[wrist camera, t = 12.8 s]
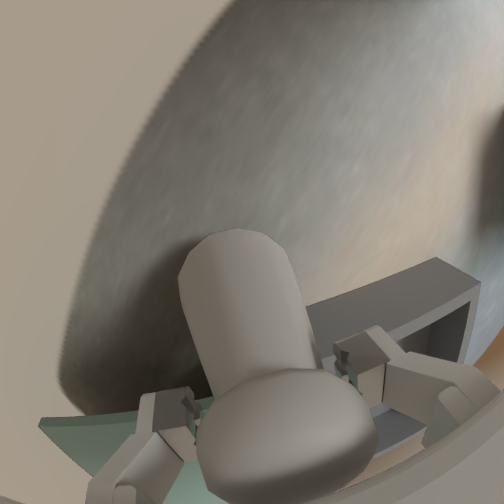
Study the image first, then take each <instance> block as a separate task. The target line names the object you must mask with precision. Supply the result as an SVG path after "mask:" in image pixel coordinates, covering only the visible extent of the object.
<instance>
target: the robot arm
mask: <svg viewBox="0 0 504 504" xmlns="http://www.w3.org/2000/svg"><path fill="white" fill-rule="evenodd" d="M333 353H334V355H335V356H336V358H337V359H336V361H335V362H334V366H335V372H336V375H337V376H338V377H340V378H342V379H343V380H345V381H347V382H348V383H350V384H352V385H353V386H354V387H355V388H356V389H357V391H358V392H359V393H360V395H361V396H362V397H363V399H364V400H365V401H366V403H367V405H368V408H372V407H374V406H376V405H378V404H381V403H382V404H384V405H386V406H388V407H390V408H392V409H394V410H396V411H398V412H400V413H403V414H405V415H407V416H409V417H411V418H413V419H416V420H418V421H420V422H422V423H425V424H427V425H428V426H427V429H426V432H425V434H424V437H423V439H422V442H421V443H422V444H423V446H424V447H425V449H424V450H422V451H420V452H419V453H418V454H415V455H413V456H412V457H410V458H408V459H406V460H405V461H403V462H401V463H399V464H397V465H395V466H393V467H391V468H389V469H388V470H385V471H384V472H381V473H379V474H377V475H375V476H373V477H371V478H369V479H366V480H364V481H362V482H360V483H357V484H355V485H352V486H350V487H347V488H345V489H342V490H340V491H338V492H334V493H332V494H329V495H326V496H323V497H320V498H317V499H314V500H311V501H308V502H305V503H301V504H504V389H503V390H502V391H500V390H499V389H498V388H497V387H496V386H495V385H494V384H493V383H492V382H491V381H490V380H489V379H488V378H487V377H486V376H485V375H484V374H483V373H481V372H480V371H479V370H478V369H477V368H476V367H473V366H469V365H464V364H460V363H456V362H451V361H447V360H443V359H439V358H434V357H430V356H426V355H422V354H418V353H414V352H411V351H410V352H408V353H405V352H404V351H403V350H402V349H401V347H400V346H399V345H398V344H397V343H396V342H395V341H394V340H393V339H392V338H391V337H390V336H389V335H388V334H387V333H386V332H385V331H384V330H383V329H382V328H381V327H380V326H378V325H375V326H373V327H371V328H368V329H366V330H364V331H362V332H359V333H357V334H354V335H352V336H350V337H347V338H345V339H342V340H340V341H337V342H334V343H333ZM204 415H205V414H204V411H203V409H202V407H201V405H200V403H198V402H196V401H194V393H193V391H192V390H191V388H190V387H188V386H186V387H180V388H175V389H169V390H163V391H158V392H153V393H146V394H143V395H142V396H141V398H140V404H139V411H138V417H137V424H136V431H135V434H131V435H130V436H129V437H128V438H127V440H126V441H125V442H124V443H123V444H122V445H121V446H120V448H119V449H118V450H117V451H116V452H115V453H114V454H113V456H112V457H111V458H110V459H109V460H108V461H107V462H106V464H105V465H104V466H103V467H102V468H101V469H100V470H99V472H98V473H97V474H96V475H95V476H94V477H93V478H92V480H91V481H90V482H89V483H88V488H87V494H86V501H85V504H162V503H163V502H164V500H165V498H166V496H167V495H168V493H169V491H170V489H171V487H172V486H173V484H174V482H175V480H176V478H177V477H178V475H179V473H180V471H181V469H182V467H183V466H184V463H183V462H190V461H195V460H198V457H197V454H196V433H197V428H198V426H199V424H200V422H201V420H202V418H203V417H204ZM0 504H24V503H21V502H17V501H15V500H12V499H9V498H6V497H4V496H1V495H0Z"/></svg>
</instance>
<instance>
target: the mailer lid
mask: <svg viewBox="0 0 504 504" xmlns="http://www.w3.org/2000/svg"><path fill="white" fill-rule="evenodd" d="M214 400H215V399H214V397H213V396H212V397H208V398H203V399H199V400H194V401H196V402H198V403H200V405H201V407H202V409H203V411H204V414H206V412H207V411H208V409H209V408H210V406H211V404H212V403H213V401H214ZM138 411H139V410H137V411H129V412H121V413H112V414H102V415H90V416H76V417H51V418H50V417H49V418H48V417H46V418H41V420H40V423H39V425H38V427H39V428H40V429H41V430H42V431H43V432H44V433H45V434H46V435H47V436H48V437H49V438H50V439H51V440H52V441H53V442H54V443H55V444H56V445H57V446H58V447H59V448H60V449H61V450H62V451H63V452H64V453H65V454H67V455H68V456H69V457H70V458H71V459H72V460H73V461H74V462H76V463H77V464H78V465H79V466H80V467H81V468H83V469H84V470H85V471H86V472H87V473H89V474H90V475H91V476H92V477H94V476H95V475H96V474H97V473H98V472H99V470H100V469H101V468H102V467H103V466H104V465H105V464H106V462H107V461H108V460H109V459H110V458H111V457H112V456H113V454H114V453H115V452H116V451H117V450H118V449H119V448H120V446H121V445H122V444H123V443H124V442H125V441H126V440H127V438H128V437H129V436H130V435H131V434H135V431H136V424H137V417H138ZM183 463H184V466H183V467H182V469H181V471H180V473H179V475H178V477H177V478H176V480H175V482H174V484H173V486H172V487H171V489H170V491H169V493H168V495H167V496H166V498H165V500H164V502H163V503H162V504H230V503H228V502H226V501H224V500H222V499H220V498H219V497H217V496H216V495H214V494H212V493H211V492H209V491H208V490H207V486H206V483H205V480H204V477H203V474H202V471H201V467H200V464H199V461H198V460H195V461H190V462H183Z"/></svg>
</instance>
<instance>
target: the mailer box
mask: <svg viewBox="0 0 504 504" xmlns="http://www.w3.org/2000/svg"><path fill="white" fill-rule="evenodd" d="M480 287H481V282H480V281H478V280H476V279H475V278H473V277H471V276H470V275H468V274H466V273H464V272H463V271H461V270H459V269H457V268H455V267H454V266H452V265H450V264H448V263H446V262H445V261H443V260H441V259H439V258H437V257H435V258H433V259H431V260H428V261H426V262H424V263H421V264H419V265H417V266H414V267H412V268H409V269H407V270H404V271H402V272H400V273H397V274H395V275H392V276H390V277H387V278H384V279H382V280H379V281H377V282H374V283H372V284H369V285H366V286H364V287H361V288H358V289H356V290H353V291H350V292H347V293H345V294H342V295H339V296H336V297H333V298H331V299H328V300H325V301H322V302H319V303H316V304H313V305H310V306H307V307H306V311H307V314H308V317H309V321H310V324H311V327H312V330H313V334H314V337H315V340H316V344H317V347H318V351H319V354H320V357H321V361H322V364H323V368H324V369H325V370H327V371H328V372H330V373H332V374H334V375H336V372H335V366H334V362H335V361H336V359H337V358H336V356H335V355H334V353H333V343H334V342H337V341H340V340H342V339H345V338H347V337H350V336H352V335H354V334H357V333H359V332H362V331H364V330H366V329H368V328H371V327H373V326H375V325H378V326H380V327H381V328H382V329H383V330H384V331H385V332H386V333H387V334H388V335H389V336H390V337H391V338H392V339H393V340H394V341H395V342H396V343H397V344H398V345H399V346H400V347H401V349H402V350H403V351H404V352H405V353H408V352H410V351H411V352H414V353H418V354H422V355H426V356H430V357H434V358H439V359H443V360H447V361H451V362H456V363H460V364H463V363H464V360H465V356H466V353H467V349H468V345H469V341H470V337H471V333H472V329H473V325H474V320H475V315H476V310H477V305H478V300H479V294H480ZM336 376H337V375H336ZM369 410H370V413H371V416H372V419H373V422H374V424H375V428H376V431H377V435H378V438H379V443H378V445H377V448H376V451H375V453H374V456H373V458H372V459H374V458H376V457H378V456H380V455H382V454H384V453H386V452H388V451H390V450H392V449H394V448H396V447H398V446H400V445H402V444H404V443H405V442H407V441H409V440H411V439H412V438H414V437H416V436H418V435H419V434H421V433H423V432H424V431H426V429H427V426H428V425H427V424H425V423H422V422H420V421H418V420H416V419H413V418H411V417H409V416H407V415H405V414H403V413H400V412H398V411H396V410H394V409H392V408H390V407H388V406H386V405H384V404H382V403H381V404H378V405H376V406H374V407H372V408H369ZM372 459H371V460H372Z"/></svg>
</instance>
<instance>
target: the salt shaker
mask: <svg viewBox="0 0 504 504" xmlns="http://www.w3.org/2000/svg"><path fill="white" fill-rule="evenodd" d="M178 285H179V293H180V301H181V305H182V308H183V311H184V314H185V317H186V320H187V323H188V326H189V329H190V332H191V335H192V338H193V341H194V344H195V347H196V350H197V353H198V356H199V358H200V361H201V364H202V367H203V369H204V372H205V375H206V377H207V380H208V383H209V385H210V388H211V391H212V394H213V397H214V399H215V400H214V401H213V403H212V404H211V406H210V408H209V409H208V411H207V412H206V414H205V415H204V417H203V418H202V420H201V422H200V424H199V426H198V428H197V433H196V454H197V457H198V461H199V464H200V467H201V471H202V474H203V477H204V480H205V483H206V486H207V490H208V491H209V492H211V493H212V494H214V495H216V496H217V497H219V498H220V499H222V500H224V501H226V502H228V503H230V504H301V503H305V502H308V501H311V500H314V499H317V498H320V497H323V496H326V495H329V494H331V493H333V492H335V491H337V490H339V489H341V488H343V487H345V486H346V485H347V484H348V483H350V482H351V481H352V480H354V479H355V478H356V477H358V476H359V475H360V474H361V473H362V472H363V471H364V470H365V468H366V467H367V465H368V464H369V462H370V461H371V459H372V458H373V456H374V453H375V451H376V448H377V445H378V443H379V438H378V435H377V431H376V428H375V424H374V422H373V419H372V416H371V413H370V410H369V408H368V405H367V403H366V401H365V400H364V399H363V397H362V396H361V395H360V393H359V392H358V391H357V389H356V388H355V387H354V386H353V385H352V384H350V383H348V382H347V381H345V380H343V379H342V378H340V377H338V376H336V375H334V374H332V373H330V372H328V371H327V370H325V369H324V368H323V364H322V361H321V357H320V354H319V351H318V347H317V344H316V340H315V337H314V334H313V330H312V327H311V324H310V321H309V317H308V314H307V311H306V307H305V304H304V301H303V298H302V295H301V291H300V288H299V285H298V282H297V279H296V276H295V273H294V270H293V268H292V266H291V263H290V261H289V259H288V257H287V255H286V252H285V250H284V249H283V248H281V247H280V246H279V245H278V244H276V243H275V242H274V241H273V240H271V239H270V238H269V237H268V236H266V235H265V234H264V233H261V232H256V231H250V230H245V229H239V228H234V229H230V230H225V231H221V232H217V233H213V234H209V235H208V236H207V237H206V238H205V239H204V240H203V241H201V242H200V243H199V244H198V245H197V246H196V247H195V248H193V249H192V250H191V251H190V252H189V254H188V256H187V258H186V260H185V262H184V264H183V267H182V269H181V271H180V273H179V275H178Z"/></svg>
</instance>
